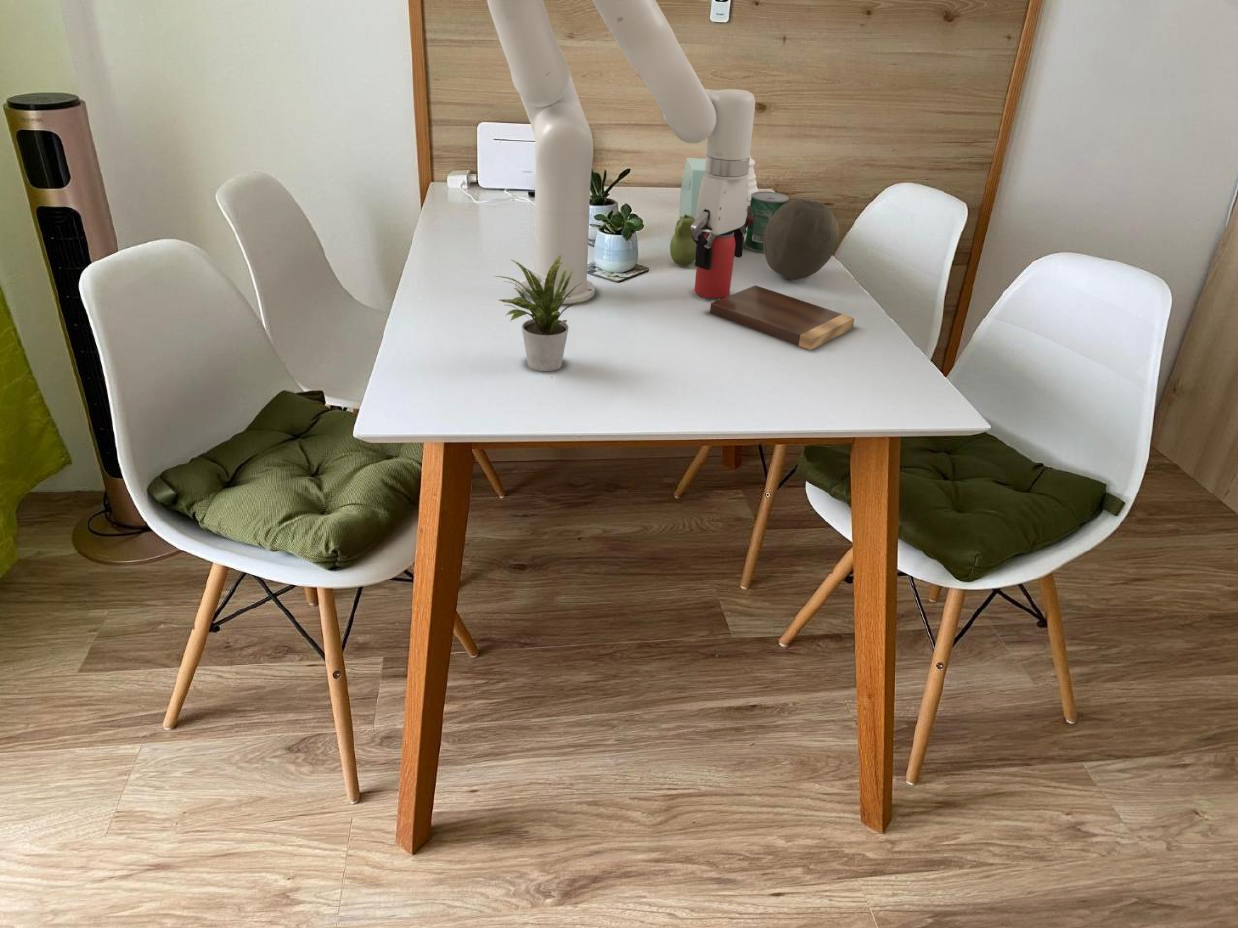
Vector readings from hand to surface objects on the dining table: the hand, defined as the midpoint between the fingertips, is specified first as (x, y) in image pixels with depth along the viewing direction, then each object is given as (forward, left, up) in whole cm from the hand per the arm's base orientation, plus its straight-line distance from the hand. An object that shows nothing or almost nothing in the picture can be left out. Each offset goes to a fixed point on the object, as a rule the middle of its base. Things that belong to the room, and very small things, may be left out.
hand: (718, 261), depth 167 cm
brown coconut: (+20, -5, -7) cm, 22 cm away
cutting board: (-2, -16, -6) cm, 17 cm away
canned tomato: (+31, +10, -7) cm, 34 cm away
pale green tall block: (+20, +19, -7) cm, 29 cm away
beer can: (-1, 0, -7) cm, 7 cm away
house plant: (-45, 0, -7) cm, 45 cm away
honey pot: (+49, +32, -7) cm, 60 cm away
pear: (+8, +14, -7) cm, 18 cm away
